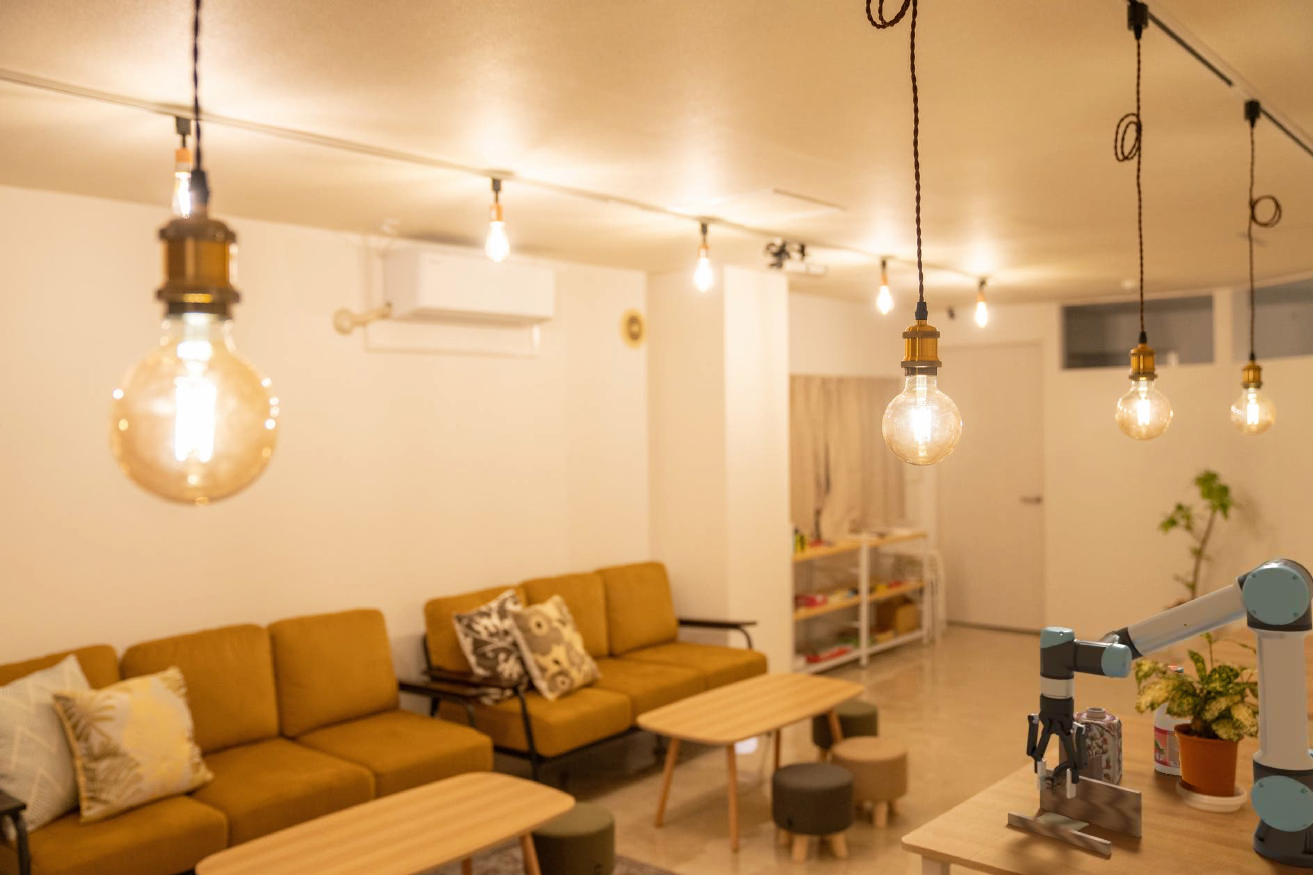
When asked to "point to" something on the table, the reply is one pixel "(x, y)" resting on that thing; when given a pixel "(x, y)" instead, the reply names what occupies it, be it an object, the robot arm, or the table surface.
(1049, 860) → the table surface
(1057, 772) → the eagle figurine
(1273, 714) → the robot arm
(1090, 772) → the wooden block
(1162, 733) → the fruit juice
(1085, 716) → the decorative jar
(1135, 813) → the wall board
